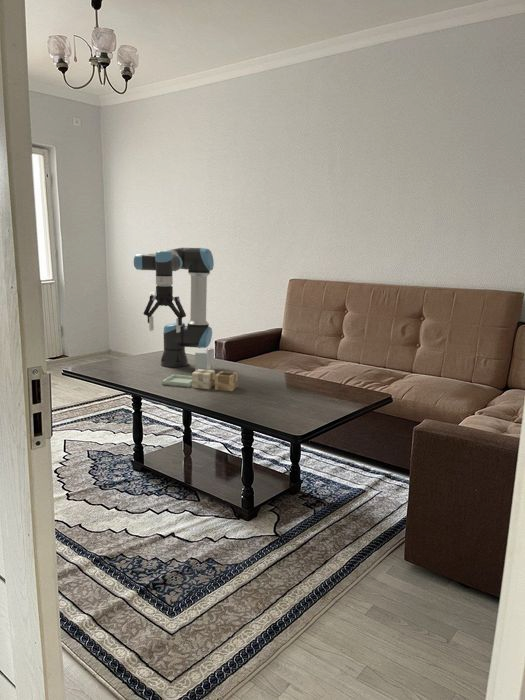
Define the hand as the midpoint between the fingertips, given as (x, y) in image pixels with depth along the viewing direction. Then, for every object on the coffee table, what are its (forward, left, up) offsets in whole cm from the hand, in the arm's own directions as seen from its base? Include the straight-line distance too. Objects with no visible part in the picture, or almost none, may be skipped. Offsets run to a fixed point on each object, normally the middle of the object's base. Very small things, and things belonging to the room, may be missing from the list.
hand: (164, 331), depth 252 cm
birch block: (-8, +16, -27) cm, 32 cm away
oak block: (-8, +28, -27) cm, 39 cm away
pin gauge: (-19, +16, -27) cm, 37 cm away
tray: (-10, +3, -27) cm, 29 cm away
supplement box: (-28, +9, -27) cm, 40 cm away
